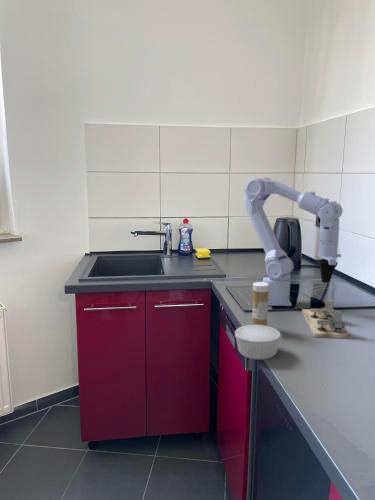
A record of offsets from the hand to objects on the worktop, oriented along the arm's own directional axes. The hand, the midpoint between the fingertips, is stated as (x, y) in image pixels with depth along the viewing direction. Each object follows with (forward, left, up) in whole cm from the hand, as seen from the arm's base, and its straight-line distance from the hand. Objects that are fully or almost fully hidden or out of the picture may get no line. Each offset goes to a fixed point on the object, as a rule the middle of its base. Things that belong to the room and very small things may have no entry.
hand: (325, 282), depth 126 cm
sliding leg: (-2, -8, -9) cm, 12 cm away
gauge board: (-3, -11, -10) cm, 15 cm away
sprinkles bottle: (-22, -16, -10) cm, 29 cm away
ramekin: (-24, -32, -10) cm, 41 cm away
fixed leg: (-2, -18, -9) cm, 20 cm away
